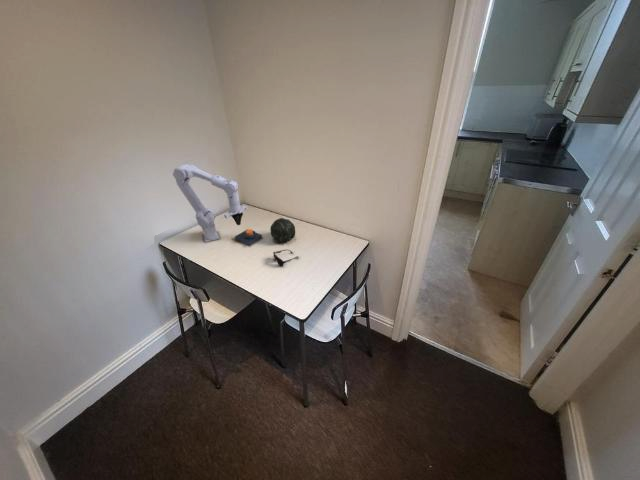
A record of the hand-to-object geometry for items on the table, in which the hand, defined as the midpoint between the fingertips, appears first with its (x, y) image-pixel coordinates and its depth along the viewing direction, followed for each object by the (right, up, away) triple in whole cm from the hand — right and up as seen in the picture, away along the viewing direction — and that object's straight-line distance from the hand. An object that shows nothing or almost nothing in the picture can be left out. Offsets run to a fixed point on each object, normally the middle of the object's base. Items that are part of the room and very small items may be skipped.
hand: (238, 224), depth 148 cm
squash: (+26, -8, +6) cm, 27 cm away
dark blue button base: (+5, -8, +6) cm, 11 cm away
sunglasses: (+29, -20, -11) cm, 37 cm away
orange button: (+6, -5, +3) cm, 8 cm away
